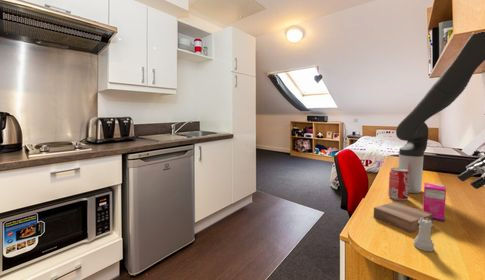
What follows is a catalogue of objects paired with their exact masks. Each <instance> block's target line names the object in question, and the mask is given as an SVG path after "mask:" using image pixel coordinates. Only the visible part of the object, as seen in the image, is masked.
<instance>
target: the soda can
mask: <svg viewBox="0 0 485 280" xmlns="http://www.w3.org/2000/svg"><path fill="white" fill-rule="evenodd" d="M388 176H389V178H388V197H389V198H390V199H392V200H395V201H401V202H402V201H407V200H408V199H409V194H410V193H409V176H410V174H409V172H408V169H404V168H398V167H391V168H390V170H389V175H388Z"/></svg>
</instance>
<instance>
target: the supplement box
mask: <svg viewBox="0 0 485 280" xmlns="http://www.w3.org/2000/svg"><path fill="white" fill-rule="evenodd" d="M423 185H424V186H423V202H422V211H425V212H428V213H431V214H433V216H432V220H435V221H440V222H445V215H446V214H445V213H446V196H447V195H446V194H447V189H446V186H445V185H444V184H438V183H430V182H424V184H423Z"/></svg>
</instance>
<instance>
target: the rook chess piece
mask: <svg viewBox="0 0 485 280" xmlns="http://www.w3.org/2000/svg"><path fill="white" fill-rule="evenodd" d="M418 223H419V224H420V226H419V230H418V234H417V235H416V236H415V238H414V239H413V245H414V246H415V248H417V249H418V250H420V251H424V252H429V253H430V252H433V251H434V250H435V244H434V242H433V240H432V237H431V235H432V234H431V232H432V227H433V226H434V223H433V220H432V221H431V220H429V221H428V219H427V218H426V220H424V218H420V220H419V221H418Z"/></svg>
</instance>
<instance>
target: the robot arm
mask: <svg viewBox="0 0 485 280" xmlns="http://www.w3.org/2000/svg"><path fill="white" fill-rule="evenodd" d="M471 35H472V34H471ZM471 35H470V36H469V38H468V39H467V41H466V42H465V43H464V46H463V47H462V49H461V50H460V51H459V53H458V54H457V56H456V57H455V59H453V61H452V62H451V64H450V65H449V66H448V67H447V68H446V69H445V71H444V72H443V73H442V74H441V75H440V77H438V79H437V80H436V81H435V82H434V83H433V85H432V86H431V87H430V89H429V90H427V92H426V94H425V95H424V96H423V98H422V99H421V100H420V101H419V102H418V103H417V105H415V107H414V108H413V110H412V111H410V112H409V114H407V116H405V118H403V119H402V121H400V123H399V124H398V126H397V127H396V129H395V130H396V131H395V135H396V137H397V139H399V140H400V141H406V143H405V145H403V146H402V147H400V148H399V151H398V166H397V168H404V169H408V172H409V174H410V176H409V194H421V192H422V186H423V183H422V182H423V173H424V172H423V168H424V156H425V155H424V154H425V152H426V150H427V147H428V140H429V134H430V133H429V127H428V125H427V123H426V122H427V121H428V120H429V119H430V118H431V117H433V116H435V115H436V114H438V113H441V112H442V111H444V110H445V109H446V108H448V107H449V106H451V105H452V103H453V102H455V101H456V99H457V98H458V97H459V96H460V95H461V94H462V93H463V92H464V90H465V89H466V88H467V86H468V84H469V82H470V81H471V78H472V76H473V75H474V74H475V72H476V70H477V69H478V68H479V67H480V66H481V65H482V63H483V62H485V32H481V33H478V34H474V35H472V36H471ZM465 168H466V170H465V171H464V172H462V173H460V174H459V175H457V177H456V178H457V179H458V180H459V181H461V182H465V181H467V180H469V179H470V178H473V177H474V176H475V175H479V174H482V176H480V177H478V178H477V179H475V180H473V181H471V182H470V186H471V187H472V188H474V189H475V190H478V189H480V188H482V187H485V157H484V156H481V157H479V158H478V159H476V160H474V161H472V162H471V163H470V164H468V165H466V166H465Z"/></svg>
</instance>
